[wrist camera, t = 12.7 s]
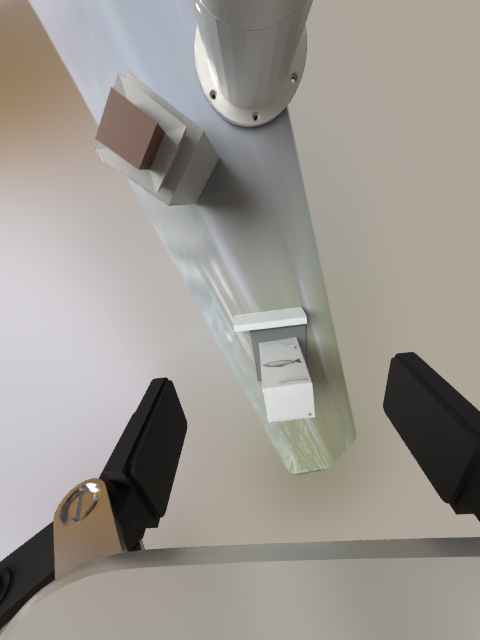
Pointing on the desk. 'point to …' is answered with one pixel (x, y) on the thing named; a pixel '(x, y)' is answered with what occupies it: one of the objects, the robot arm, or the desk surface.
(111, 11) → the desk surface
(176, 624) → the robot arm
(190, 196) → the perfume bottle
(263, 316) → the frosted wall
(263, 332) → the charcoal mat
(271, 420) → the supplement box
